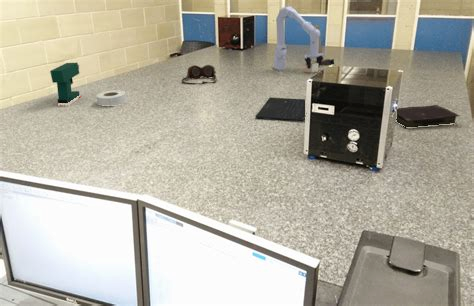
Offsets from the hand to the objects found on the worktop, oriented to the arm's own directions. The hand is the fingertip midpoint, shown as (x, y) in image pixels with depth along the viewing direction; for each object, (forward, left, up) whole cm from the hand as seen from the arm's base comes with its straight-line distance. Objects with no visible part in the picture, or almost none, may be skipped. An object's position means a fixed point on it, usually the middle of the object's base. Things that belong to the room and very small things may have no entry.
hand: (313, 67), depth 279 cm
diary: (+107, -10, -4) cm, 107 cm away
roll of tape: (+4, -138, -4) cm, 138 cm away
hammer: (-17, +17, -4) cm, 24 cm away
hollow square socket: (0, 0, -3) cm, 3 cm away
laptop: (+67, -53, -4) cm, 85 cm away
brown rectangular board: (-5, 0, -4) cm, 6 cm away
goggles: (-21, -77, -4) cm, 80 cm away
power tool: (-18, -158, -4) cm, 159 cm away
